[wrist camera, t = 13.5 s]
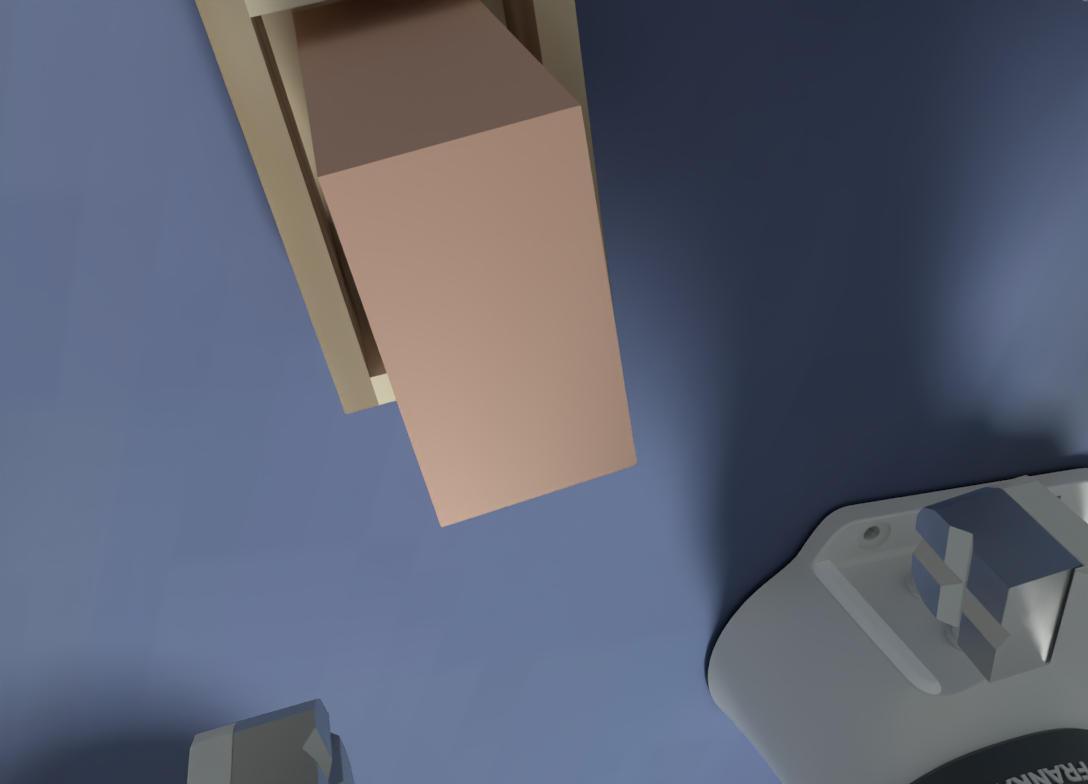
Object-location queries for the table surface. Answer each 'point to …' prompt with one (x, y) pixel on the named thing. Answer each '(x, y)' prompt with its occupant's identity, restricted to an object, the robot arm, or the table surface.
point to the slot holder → (290, 170)
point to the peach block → (469, 245)
